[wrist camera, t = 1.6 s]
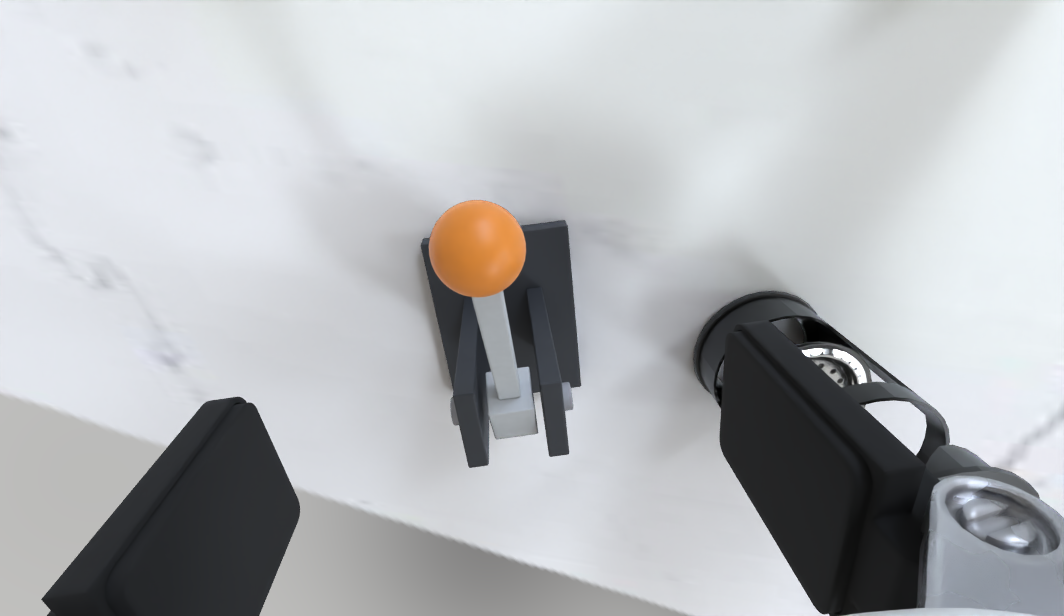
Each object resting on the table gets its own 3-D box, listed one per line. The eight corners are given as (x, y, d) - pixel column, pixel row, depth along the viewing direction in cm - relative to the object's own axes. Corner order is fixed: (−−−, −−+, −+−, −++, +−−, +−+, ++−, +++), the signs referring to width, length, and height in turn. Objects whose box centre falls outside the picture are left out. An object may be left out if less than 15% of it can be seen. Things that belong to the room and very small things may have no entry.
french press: (662, 341, 36) (887, 716, 16) (775, 257, 34) (1215, 567, 13) (745, 432, 41) (1005, 816, 20) (850, 363, 38) (1266, 718, 18)
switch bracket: (422, 238, 32) (387, 329, 21) (565, 219, 32) (601, 301, 21) (457, 393, 37) (443, 527, 26) (578, 377, 37) (612, 504, 26)
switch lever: (419, 186, 16) (416, 256, 14) (516, 173, 16) (526, 242, 14) (483, 393, 27) (486, 448, 25) (541, 385, 27) (548, 440, 25)
